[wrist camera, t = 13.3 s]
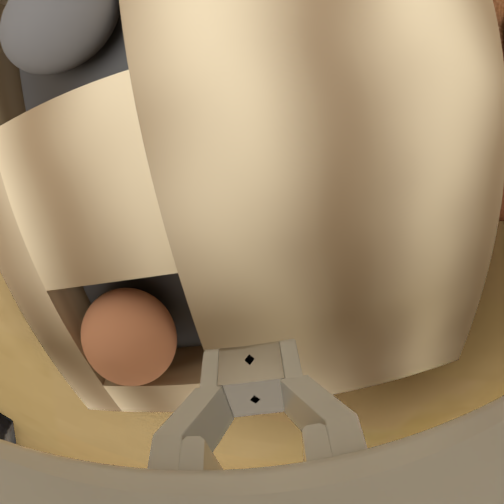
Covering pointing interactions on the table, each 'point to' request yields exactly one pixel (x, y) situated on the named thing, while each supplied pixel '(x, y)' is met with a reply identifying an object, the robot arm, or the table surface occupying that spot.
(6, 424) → the vhs cassette tape
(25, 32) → the charcoal ball
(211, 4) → the hole board
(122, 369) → the terracotta ball
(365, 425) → the table surface
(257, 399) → the robot arm
